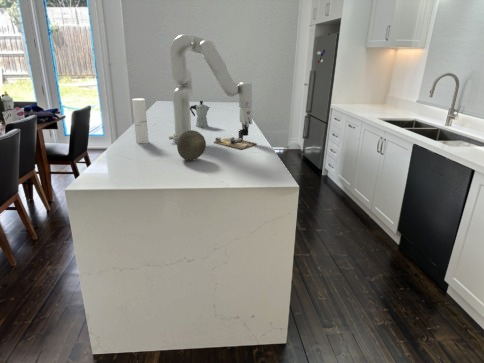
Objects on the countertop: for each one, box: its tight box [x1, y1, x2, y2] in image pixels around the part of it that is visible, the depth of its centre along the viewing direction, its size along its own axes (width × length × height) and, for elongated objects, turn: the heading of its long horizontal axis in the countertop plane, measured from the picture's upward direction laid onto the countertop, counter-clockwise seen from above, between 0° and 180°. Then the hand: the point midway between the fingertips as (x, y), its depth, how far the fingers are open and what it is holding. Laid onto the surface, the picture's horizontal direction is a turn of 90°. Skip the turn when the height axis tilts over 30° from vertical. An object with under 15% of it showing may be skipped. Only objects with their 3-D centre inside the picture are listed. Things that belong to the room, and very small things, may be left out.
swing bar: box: [229, 129, 244, 143], centre depth 203 cm, size 12×3×6 cm, turn 147°
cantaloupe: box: [176, 129, 207, 162], centre depth 170 cm, size 14×14×15 cm
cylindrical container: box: [131, 97, 149, 144], centre depth 198 cm, size 7×7×25 cm
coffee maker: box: [190, 100, 211, 129], centre depth 242 cm, size 15×9×18 cm, turn 84°
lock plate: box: [213, 136, 258, 151], centre depth 202 cm, size 15×21×3 cm
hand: (245, 135), depth 204 cm, fingers closed
